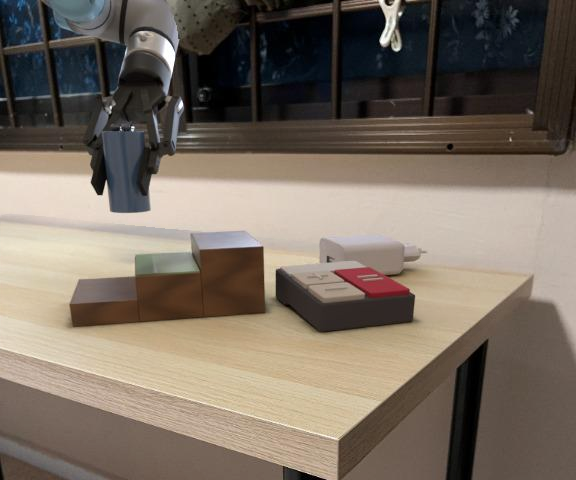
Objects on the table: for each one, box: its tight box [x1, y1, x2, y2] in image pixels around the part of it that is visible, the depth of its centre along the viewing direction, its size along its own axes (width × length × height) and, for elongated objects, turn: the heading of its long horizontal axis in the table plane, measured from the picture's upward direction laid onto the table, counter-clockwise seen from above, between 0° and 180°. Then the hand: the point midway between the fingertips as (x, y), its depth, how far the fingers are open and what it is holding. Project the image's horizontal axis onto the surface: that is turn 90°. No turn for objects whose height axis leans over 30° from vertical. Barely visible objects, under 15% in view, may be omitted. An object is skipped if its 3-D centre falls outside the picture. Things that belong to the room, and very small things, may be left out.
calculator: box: [275, 261, 416, 333], centre depth 70 cm, size 11×4×15 cm
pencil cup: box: [101, 124, 152, 214], centre depth 89 cm, size 6×6×12 cm
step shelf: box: [68, 230, 266, 327], centre depth 71 cm, size 21×12×8 cm, turn 103°
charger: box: [318, 233, 428, 276], centre depth 89 cm, size 5×9×15 cm
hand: (119, 189), depth 87 cm, fingers closed on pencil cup, 6 cm apart
